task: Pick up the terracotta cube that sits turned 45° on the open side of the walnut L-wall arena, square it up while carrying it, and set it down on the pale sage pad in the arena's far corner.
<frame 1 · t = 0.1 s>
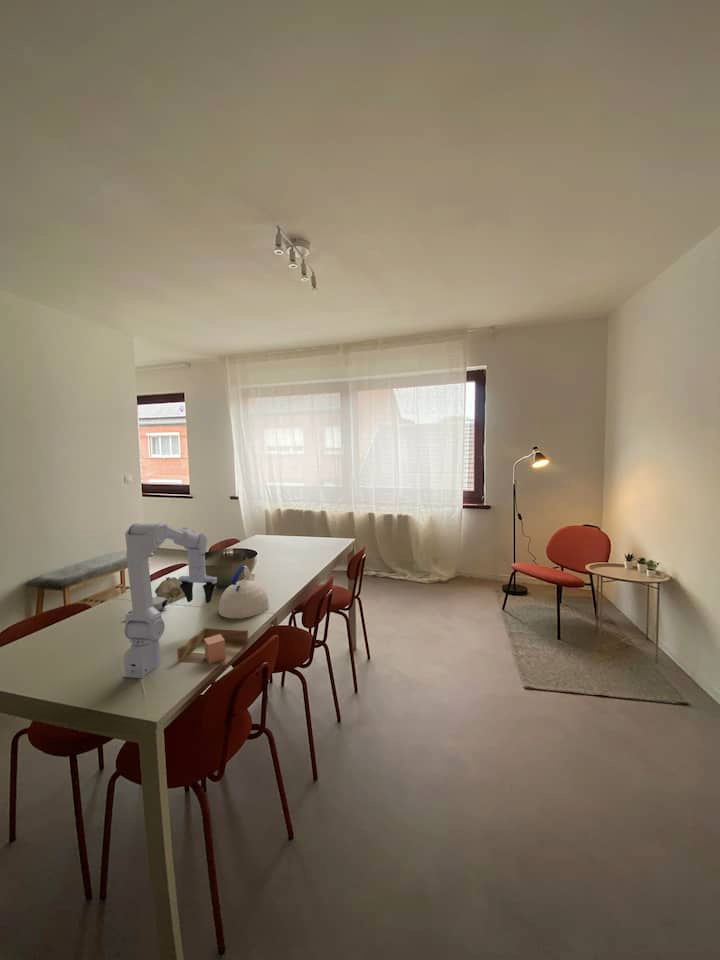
hand: (199, 601, 147), 10 cm above the table, fingers open, 7 cm apart
robot toy: (149, 614, 163), on the table
kettle: (244, 609, 165), on the table
cube: (215, 657, 124), point 1 cm above the table, touching arena
arena: (215, 653, 128), on the table
ceramic model: (169, 599, 179), on the table
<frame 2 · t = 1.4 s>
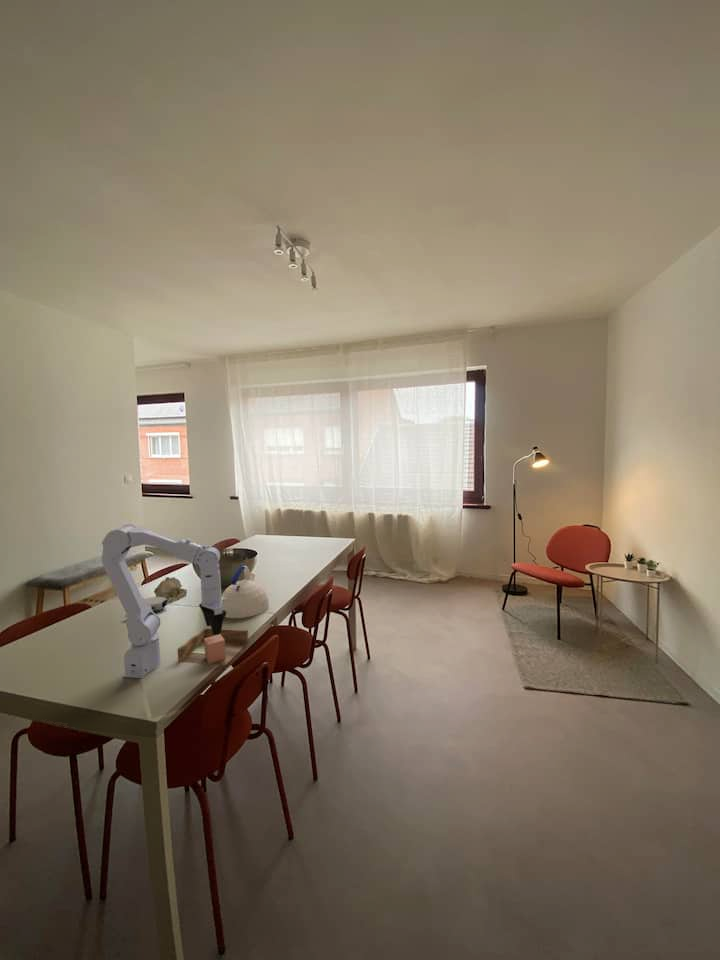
hand: (213, 629, 123), 10 cm above the table, fingers open, 7 cm apart
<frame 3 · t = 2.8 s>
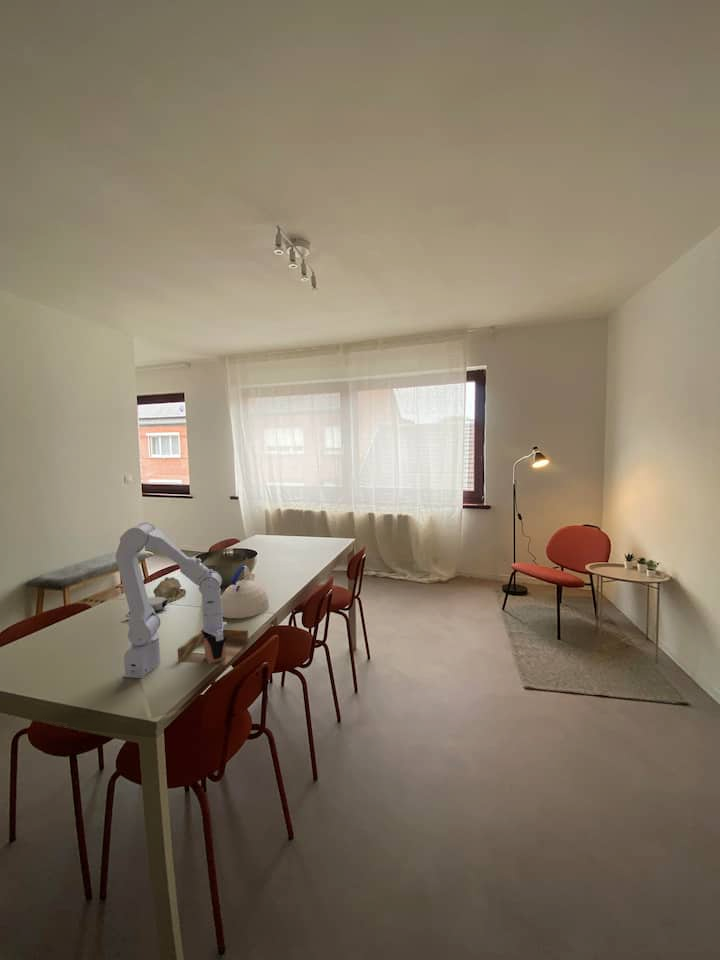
hand: (215, 654, 123), 2 cm above the table, fingers closed on cube, 5 cm apart
cube: (215, 657, 124), point 1 cm above the table, touching arena, gripper
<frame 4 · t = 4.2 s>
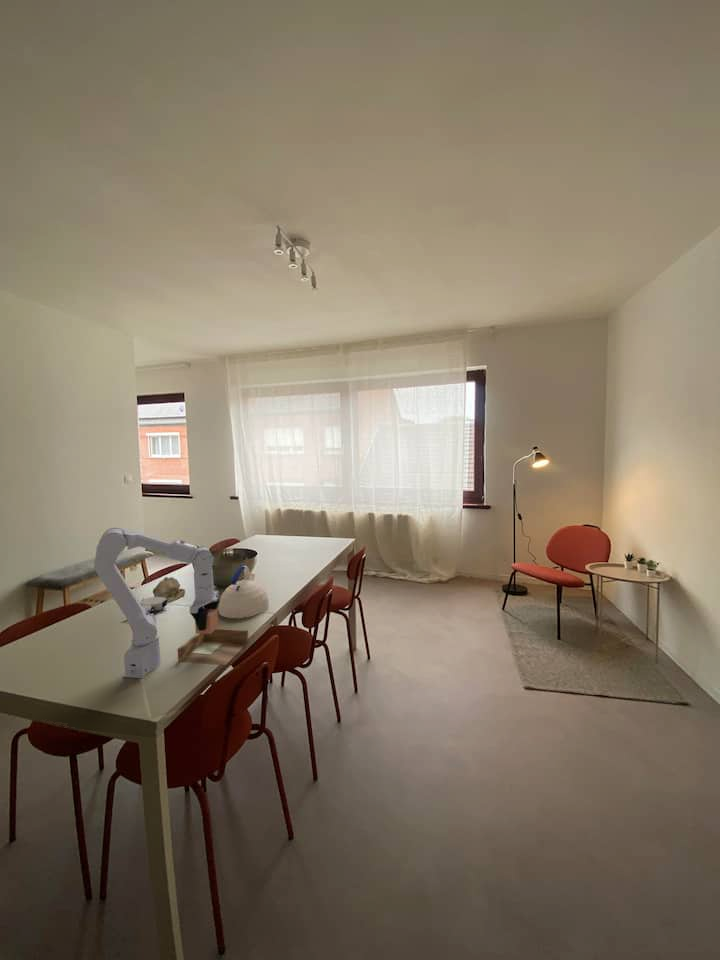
hand: (206, 625, 128), 9 cm above the table, fingers closed on cube, 5 cm apart
cube: (207, 630, 128), point 8 cm above the table, touching gripper
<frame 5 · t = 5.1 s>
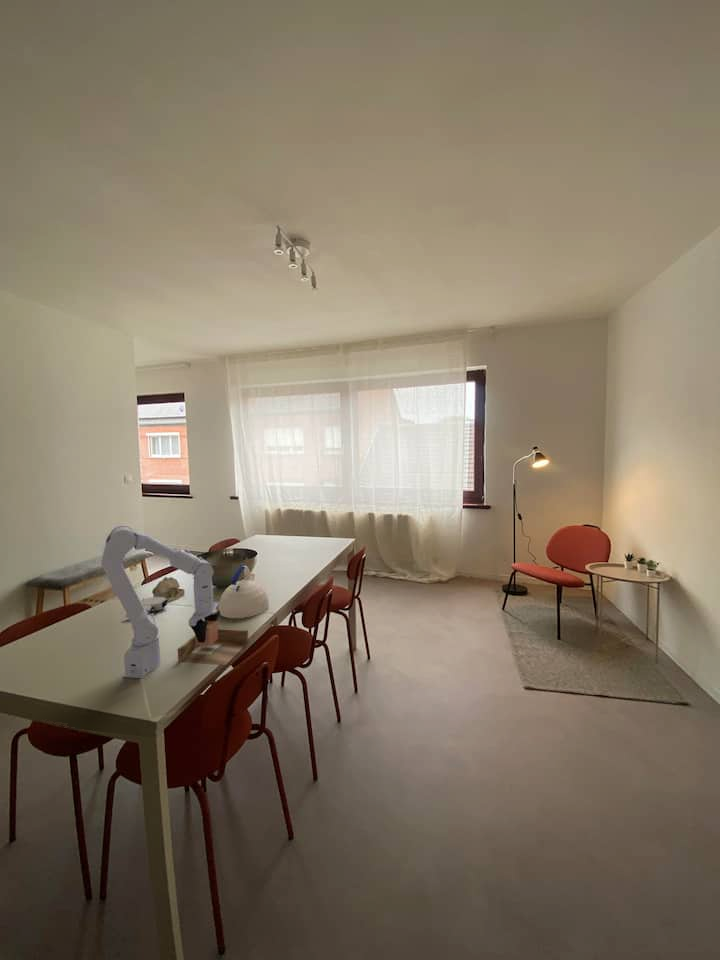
hand: (206, 637, 129), 4 cm above the table, fingers closed on cube, 5 cm apart
cube: (207, 641, 129), point 3 cm above the table, touching gripper
when the fingers open (3 cm above the table, at t = 5.8 s): cube drops 1 cm, resting on arena.
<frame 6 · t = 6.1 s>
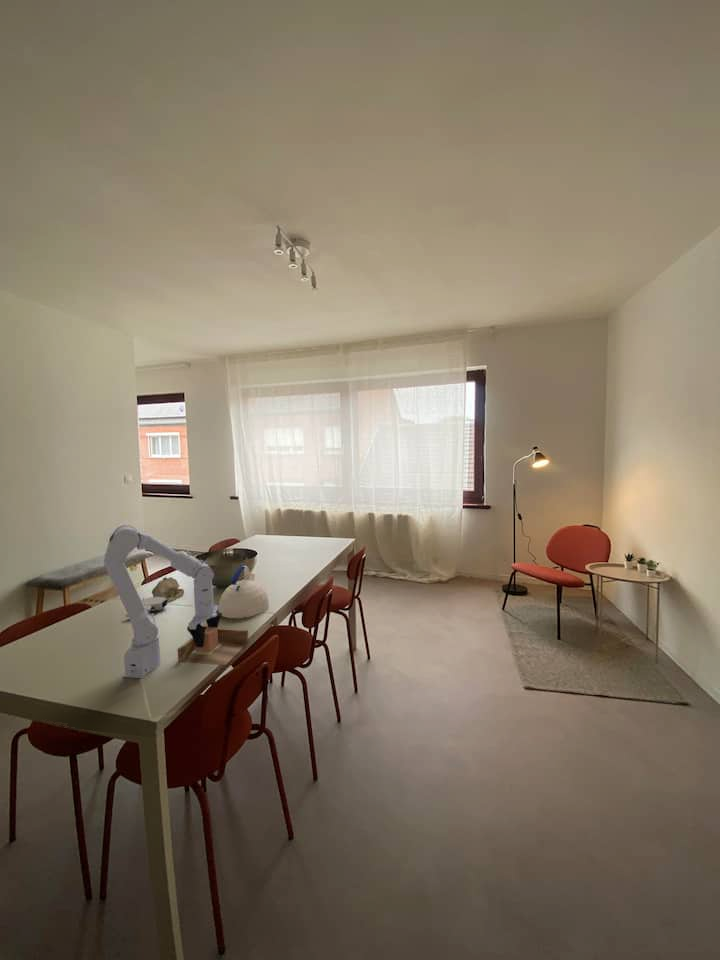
hand: (206, 641, 129), 3 cm above the table, fingers open, 7 cm apart
cube: (207, 648, 130), point 1 cm above the table, touching arena
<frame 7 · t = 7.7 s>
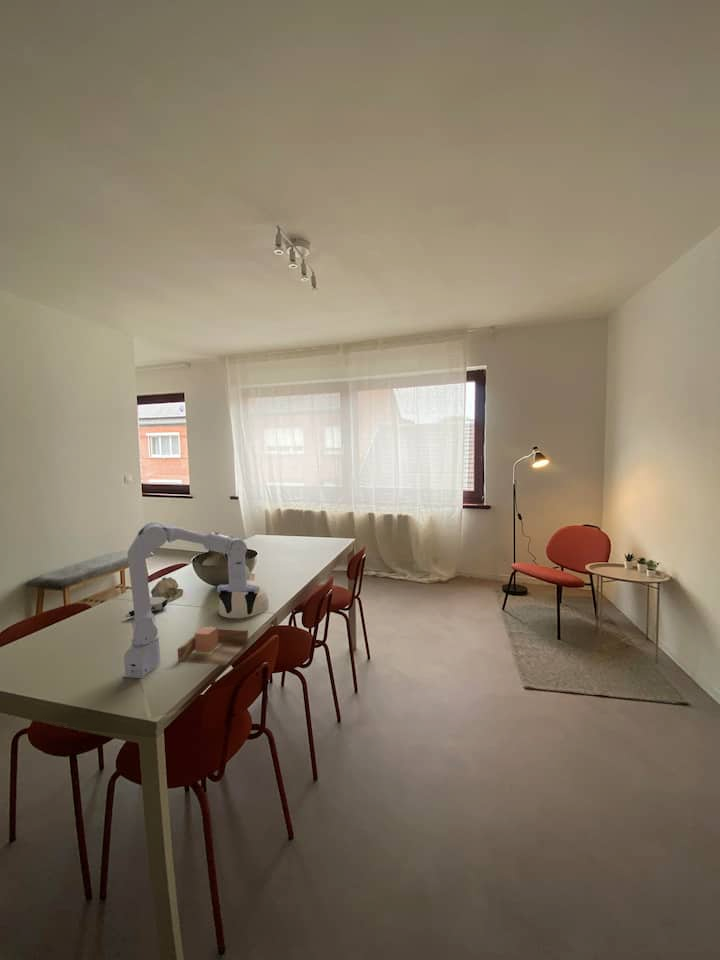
hand: (239, 612, 134), 10 cm above the table, fingers open, 7 cm apart
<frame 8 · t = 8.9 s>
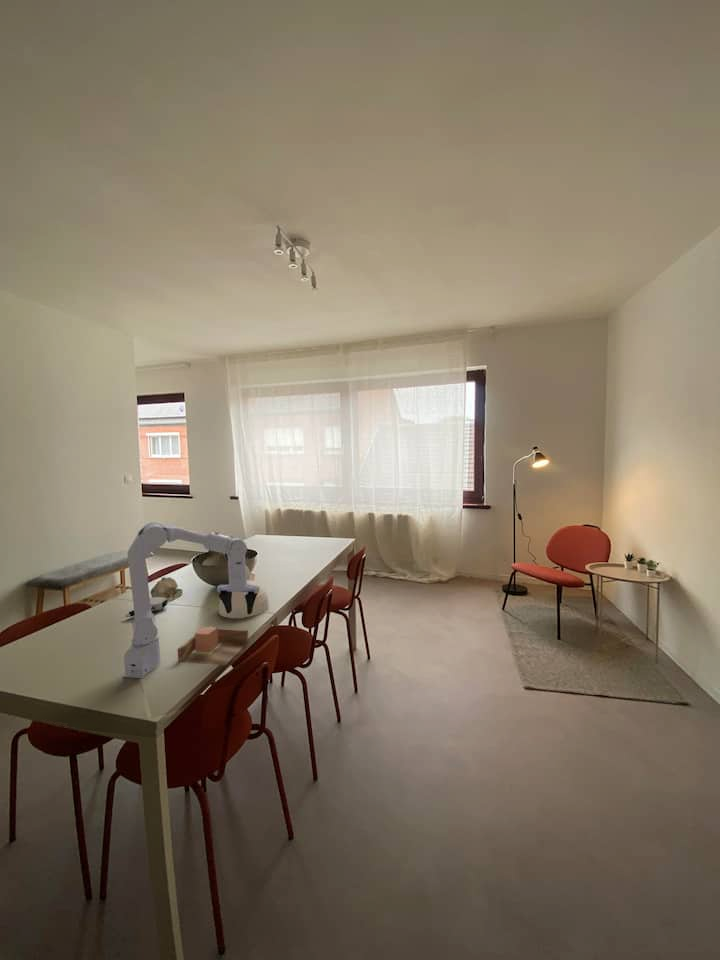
hand: (239, 612, 134), 10 cm above the table, fingers open, 7 cm apart
at the end: cube 0.1 cm from the target spot on the arena, point 1.0 cm above the arena's base; cube tilted 0°; the gripper is holding nothing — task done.
